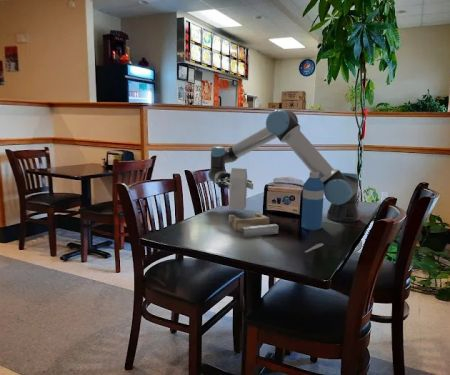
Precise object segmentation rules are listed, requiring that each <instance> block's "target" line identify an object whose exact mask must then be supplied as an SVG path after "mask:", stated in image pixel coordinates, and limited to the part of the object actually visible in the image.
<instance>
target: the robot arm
mask: <svg viewBox="0 0 450 375" xmlns="http://www.w3.org/2000/svg"><path fill="white" fill-rule="evenodd" d="M276 138H277V139H278V141H280V143H282V144H283V143H285V144H287V145H288V147H289V148H290V150H292V151H293V152H294V154H295V155H296V156H297V158H299V160H300V161H301V162H302V163H303V164H304V165H305V167H306V168H307V169H308V170H309V172H318V173H319V178H320V179H321V181H322V182H323V184H324V197H325V199H326V200H327V201H328V202H329V203H330V206H329V207H328V210H327V213H326V218H327V219H328V220H330V221H331V220H332V221H335V222H339V223H340V222H343V223H355V222H358V221H359V218H360V217H359V216H360V215H359V211H358V207H357V199H358V185H359V175H358V174H357V173H351V172H341V171H340V169H337V168H335V169H334V167H332V166H331V164H330V162H328V161H327V160H326V159H325V158H324V156H323V155H322V154H321V153H320V151H319V150H317V148H316V147H315V145H313V144H312V142H311V141H310V140H309V138H307V137H306V136H305V135H304V134H303V133H302V131H301V125H300V124H299V120H298V117H297V115H296V114H295V112H293V111H291V110H287V109H286V110H285V109H275V110H273V111H271V112H270V113H269V114H268V115H267V117H266V121H265V127H263V128H261V129H259V130H258V131H257V132H255V133H253V134H251V135H249V136H248V137H246V138H244V139H242V140H241V141H239V142H237V143H235V144H233V145H232V146H230V147H228V148H226V147H224V146H212V147H211V149H210V150H211V151H210V169H209V170H208V173H207V177H208V179H209V180H210V181H211V182H212V183H215V185H217V187H218V188H222V189H223V190H226V189H227V190H229V191H230V190H233V184H230V175H231V172H227V171H225V169H226V164H229V163H234V162H235V161H237V160H238V159H239V158H241V157H244V156H245V155H247V154H248V153H250V152H252V151H254V150H256V149H258V148H260V147H262V146H263V145H265V144H267V143H270V142H271V141H273V140H275V139H276ZM247 189H250V190H254V183H253V181H252V180H250V179H247Z"/></svg>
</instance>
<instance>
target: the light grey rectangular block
mask: <svg viewBox="0 0 450 375" xmlns="http://www.w3.org/2000/svg"><path fill="white" fill-rule="evenodd" d="M247 170H248V169H247V168H239V167H231V172H230V174H231V175H230V184H233V190H229V193H228V194H229V196H228V197H229V198H228V210H229V209H230V210H238V211H244V210H245V209H246V207H247V196H248V195H247V191H248V190H247V189H248V188H247V180H248V173H247V172H248V171H247Z"/></svg>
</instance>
